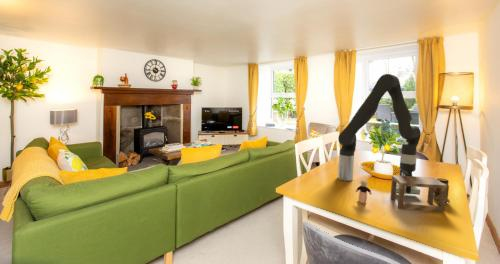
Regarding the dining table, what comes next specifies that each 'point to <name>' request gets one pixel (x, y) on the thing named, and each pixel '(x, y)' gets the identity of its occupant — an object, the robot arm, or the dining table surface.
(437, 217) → the dining table surface
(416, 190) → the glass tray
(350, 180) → the robot arm
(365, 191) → the grandmother figurine
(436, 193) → the condiment
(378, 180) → the dining table surface
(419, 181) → the brown wooden side table
